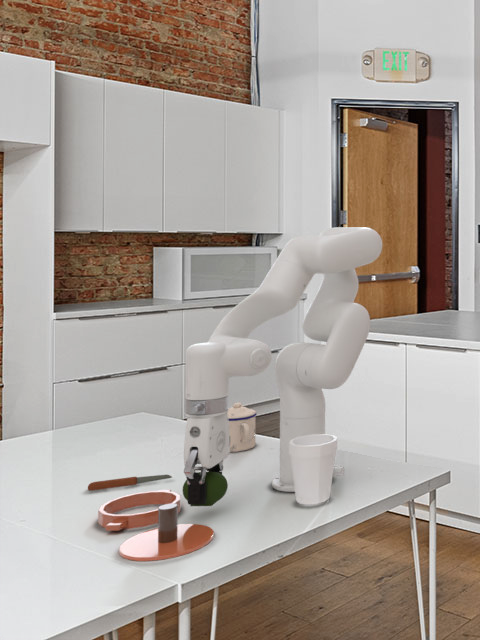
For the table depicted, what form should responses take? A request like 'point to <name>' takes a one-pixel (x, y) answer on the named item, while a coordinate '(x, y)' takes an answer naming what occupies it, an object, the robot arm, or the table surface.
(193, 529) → the lid
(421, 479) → the table surface
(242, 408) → the teacup with lid
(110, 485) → the kitchen knife
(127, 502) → the pot
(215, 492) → the avocado
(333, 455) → the foam cup
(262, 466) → the table surface
